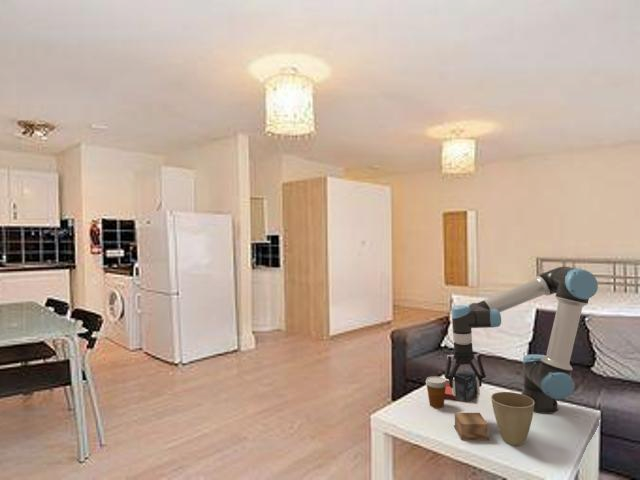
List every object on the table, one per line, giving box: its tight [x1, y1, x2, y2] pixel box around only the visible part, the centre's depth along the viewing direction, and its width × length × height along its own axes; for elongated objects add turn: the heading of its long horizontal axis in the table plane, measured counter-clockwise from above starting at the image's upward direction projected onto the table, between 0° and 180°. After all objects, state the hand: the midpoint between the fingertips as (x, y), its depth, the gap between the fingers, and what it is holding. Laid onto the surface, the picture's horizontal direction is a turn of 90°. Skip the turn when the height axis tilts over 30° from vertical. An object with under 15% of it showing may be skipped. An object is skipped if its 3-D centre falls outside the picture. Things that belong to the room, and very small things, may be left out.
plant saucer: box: [445, 379, 472, 402], centre depth 199 cm, size 18×18×3 cm
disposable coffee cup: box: [425, 376, 447, 409], centre depth 186 cm, size 10×10×12 cm
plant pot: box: [490, 391, 535, 446], centre depth 153 cm, size 15×15×16 cm
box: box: [453, 369, 478, 403], centre depth 171 cm, size 8×6×11 cm
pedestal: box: [453, 412, 490, 441], centre depth 159 cm, size 11×11×6 cm
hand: (465, 394), depth 171 cm, fingers closed on box, 9 cm apart
